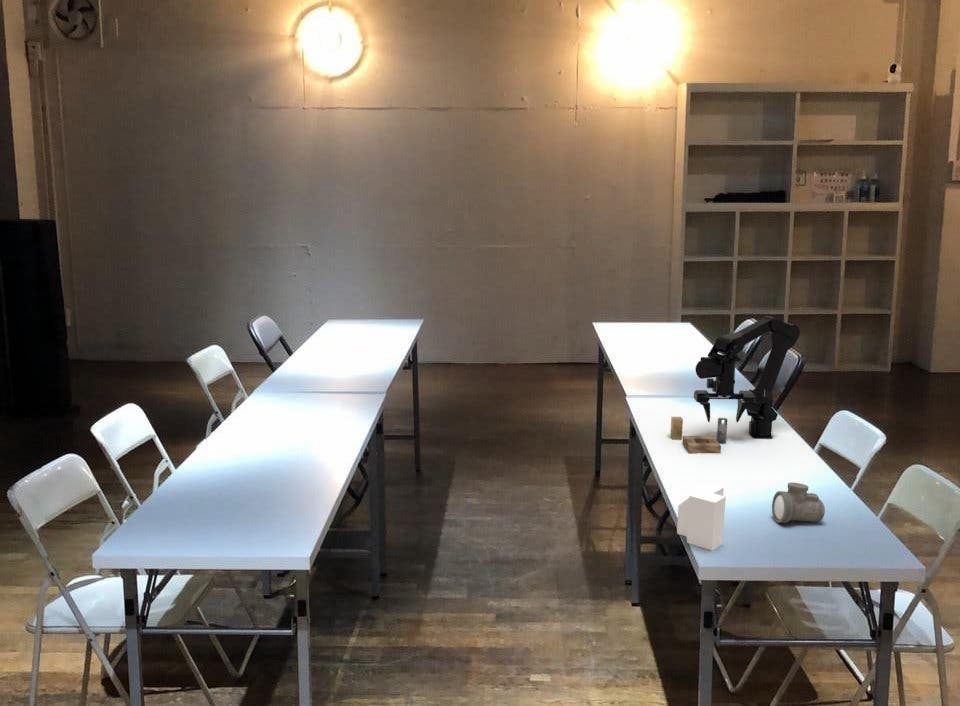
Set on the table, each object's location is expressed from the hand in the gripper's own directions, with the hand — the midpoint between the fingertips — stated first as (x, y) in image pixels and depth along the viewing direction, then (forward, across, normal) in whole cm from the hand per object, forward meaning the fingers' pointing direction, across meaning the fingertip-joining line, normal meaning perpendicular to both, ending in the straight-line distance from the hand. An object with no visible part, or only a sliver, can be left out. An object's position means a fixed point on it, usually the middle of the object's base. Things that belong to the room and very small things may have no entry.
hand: (722, 421), depth 302 cm
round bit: (+7, 0, 0) cm, 7 cm away
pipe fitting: (+7, -4, +67) cm, 68 cm away
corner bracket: (+7, +23, +78) cm, 82 cm away
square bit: (+7, +14, -4) cm, 16 cm away
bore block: (+7, +8, +7) cm, 13 cm away
